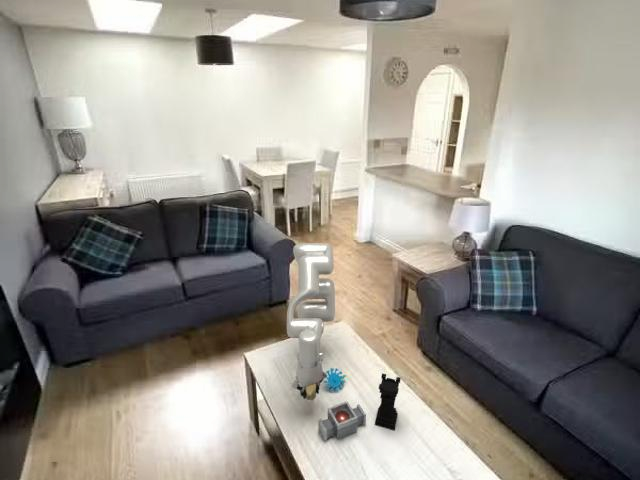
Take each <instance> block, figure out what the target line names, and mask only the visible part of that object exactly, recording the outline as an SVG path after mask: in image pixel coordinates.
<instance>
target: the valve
mask: <svg viewBox="0 0 640 480" xmlns="http://www.w3.org/2000/svg"><path fill="white" fill-rule="evenodd" d="M366 422H367V414H366V412H365V411H364V409H363V407H362V406H361V405H360V404H359V403H358V404H357V405H356V407H354V408H353V407H352V406H351V405H350V403H349V402H348V401H347V400H346V401H344V402H341V403H338V404H336V405H333V406H331V407H327V418H325V419H323V420H322V418H319V419H318V423H317V424H318V428H317V430H318V431H319V434H320V436H321V438H322V440H323V442H327V441H328V440H327V439H328V438H330V437H334V438H335V440H336V441H337V442H339V441H340V440H343V439H345V438H348V437H349V436H352V435H354V434H357V433H358V426H360V425H362V426H366V424H367V423H366Z"/></svg>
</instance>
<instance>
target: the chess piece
mask: <svg viewBox="0 0 640 480" xmlns="http://www.w3.org/2000/svg"><path fill="white" fill-rule="evenodd" d="M380 379H381V382H380V383H379V384H378V390H379V393H380V396H379V397H380V404H379V406H378V408H377V412H376V416H375V420H374V426H376V427H379V428H380V427H381V428H384V429H387V430H391V431H396V427H397V426H396V425H397V421H398V414H399V413H398V410H397V408H396V407H395V405H396V403H395V402H396V399H397V397H398V394H399V390H400V388H399V384H400V383H401V377H399V376H397V377H396V379H394V378H391V377H387V374H386V373H381V378H380Z"/></svg>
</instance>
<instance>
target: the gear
mask: <svg viewBox="0 0 640 480" xmlns="http://www.w3.org/2000/svg"><path fill="white" fill-rule="evenodd" d="M333 371H334V372H333ZM337 372H338V373H337ZM325 373H326V374H327V377H326V378H325V379H326V380H325V379H324V380H323V384H328V385H326V387H325V388H326V389H329V388H330V387H332V388H330V389H329V390H330V392H336V393H337V392H339V390H342V389H343V386H342V385H345V381H343V380H345V378H346V377H347V375H346V374H343V372H342V371H341V370H340V371H339V368H337V367H336V368H333V367H331V368H330V370H329V369H328V370H326V372H325ZM340 375H341V376H340ZM334 388H335V389H334Z"/></svg>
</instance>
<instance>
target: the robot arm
mask: <svg viewBox="0 0 640 480" xmlns="http://www.w3.org/2000/svg"><path fill="white" fill-rule="evenodd" d="M292 252H293V256H294V259H295V261H296V263H297V266H298V267H297V269H298V272H297V274H298V277H297V278H298V283H297V285H298V286H297V287H298V288H297V289H298V290H297V293H296V294H295V296H293V298H292V299H291V300H290V303H289V305H288V307H287V313H286V334H287V335H288V337H289V338H290V339H298V353H297V360H298V361H297V363H296V365H295V366H296V367H295V380H294V381H293V382H292V384H291V387H292V389H295V390H298V391H299V392H300V396H301V397H302V398H303V400H306V399H305V398H306V392H305V386H308V385H311V384H313V383H316V395H319V392H320V386H321V385H322V383H323V382H324V380H325V379H327V378H326V377H328V374H327V373H326V372H325V370H323V365H322V361H323V359H324V353H323V351H322V350H321V337H322V334H323V333H324V328H325V325H324V323H330V322H333V321H334V319H335V317H336V294H335V293H336V291H335V290H336V288H335V283H334V281H333V279H331V278H320V275H321V276H323V275H325V276H326V275H327V276H328V275H331V274H332V273H333V271H334V267H335V266H334V263H335V262H334V261H335V260H334V252H333V247H332V245H331V244H330V243H327V242H302V243H297V244H295V245H294V246H293V249H292ZM306 300H307V301H306ZM308 300H309V301H308ZM310 300H311V301H310ZM312 300H313V301H312ZM315 300H316V301H315ZM319 300H324V301H319ZM296 308H297V317H294V316H295V312H296Z"/></svg>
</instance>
